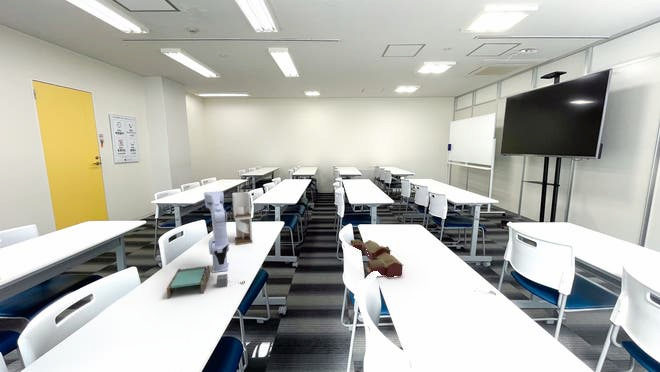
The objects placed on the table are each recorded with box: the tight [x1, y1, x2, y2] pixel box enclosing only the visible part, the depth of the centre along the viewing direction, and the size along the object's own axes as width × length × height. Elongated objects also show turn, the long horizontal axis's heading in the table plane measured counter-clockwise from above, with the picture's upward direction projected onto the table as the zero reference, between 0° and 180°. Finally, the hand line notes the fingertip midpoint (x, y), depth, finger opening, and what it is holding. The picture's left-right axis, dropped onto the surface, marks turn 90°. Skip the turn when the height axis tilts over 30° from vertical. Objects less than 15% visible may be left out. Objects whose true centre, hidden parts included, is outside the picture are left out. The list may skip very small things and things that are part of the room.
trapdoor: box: [170, 265, 207, 289], centre depth 127 cm, size 18×12×3 cm
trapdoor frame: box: [166, 264, 211, 300], centre depth 128 cm, size 20×15×5 cm
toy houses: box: [349, 239, 405, 278], centre depth 156 cm, size 45×20×10 cm, turn 13°
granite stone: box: [216, 273, 229, 289], centre depth 128 cm, size 4×4×4 cm
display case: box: [231, 191, 253, 246], centre depth 185 cm, size 11×11×35 cm
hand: (222, 261), depth 131 cm, fingers open, 7 cm apart
